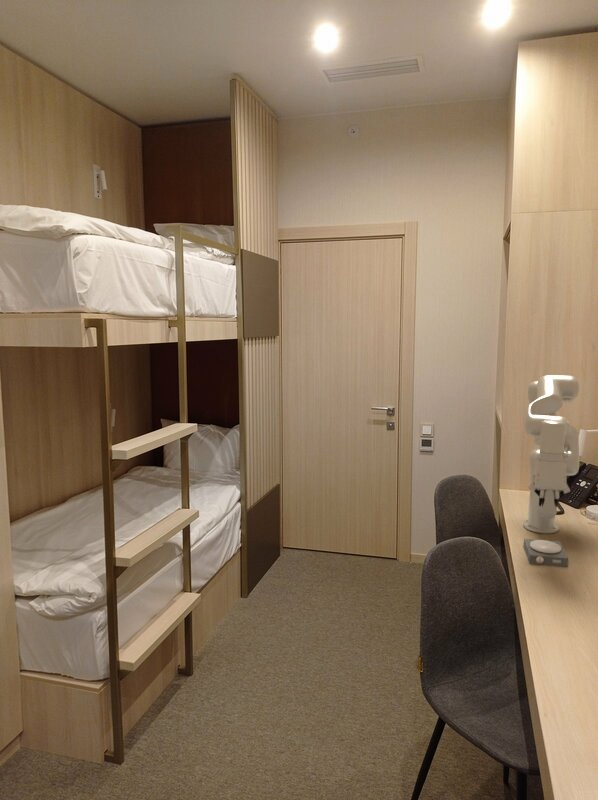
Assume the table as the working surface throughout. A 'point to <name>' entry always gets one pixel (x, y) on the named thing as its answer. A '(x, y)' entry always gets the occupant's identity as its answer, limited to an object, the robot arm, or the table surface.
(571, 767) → the table surface
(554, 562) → the scale
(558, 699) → the table surface
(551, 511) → the salt shaker
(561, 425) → the robot arm
